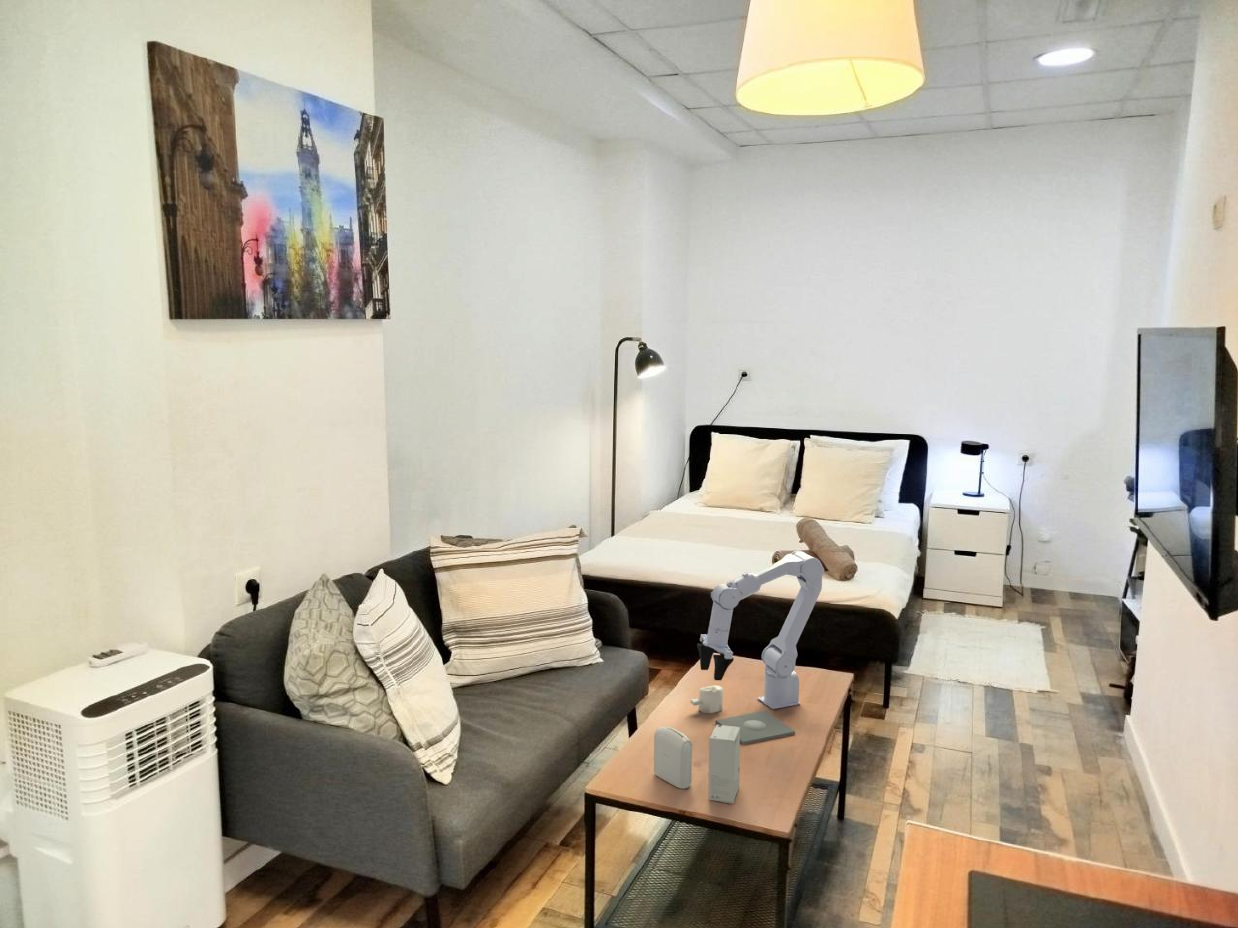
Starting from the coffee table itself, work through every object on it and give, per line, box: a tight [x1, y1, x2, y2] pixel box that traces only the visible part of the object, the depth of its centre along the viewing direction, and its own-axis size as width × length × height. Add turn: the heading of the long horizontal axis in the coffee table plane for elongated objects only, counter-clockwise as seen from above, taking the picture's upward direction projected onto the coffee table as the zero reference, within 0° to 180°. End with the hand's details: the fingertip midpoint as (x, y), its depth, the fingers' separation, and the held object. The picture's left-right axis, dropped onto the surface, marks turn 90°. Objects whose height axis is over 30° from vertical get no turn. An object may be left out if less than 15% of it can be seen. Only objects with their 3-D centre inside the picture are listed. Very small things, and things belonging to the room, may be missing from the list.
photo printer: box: [653, 725, 693, 790], centre depth 202 cm, size 10×4×12 cm, turn 39°
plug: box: [690, 685, 724, 714], centre depth 241 cm, size 9×4×6 cm, turn 114°
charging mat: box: [715, 709, 796, 745], centre depth 231 cm, size 16×14×1 cm
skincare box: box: [708, 724, 741, 805], centre depth 196 cm, size 8×6×15 cm
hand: (710, 674), depth 240 cm, fingers open, 7 cm apart
